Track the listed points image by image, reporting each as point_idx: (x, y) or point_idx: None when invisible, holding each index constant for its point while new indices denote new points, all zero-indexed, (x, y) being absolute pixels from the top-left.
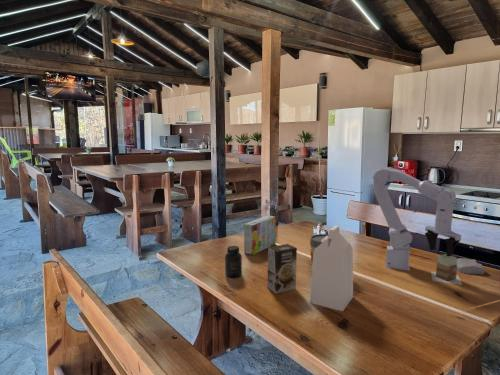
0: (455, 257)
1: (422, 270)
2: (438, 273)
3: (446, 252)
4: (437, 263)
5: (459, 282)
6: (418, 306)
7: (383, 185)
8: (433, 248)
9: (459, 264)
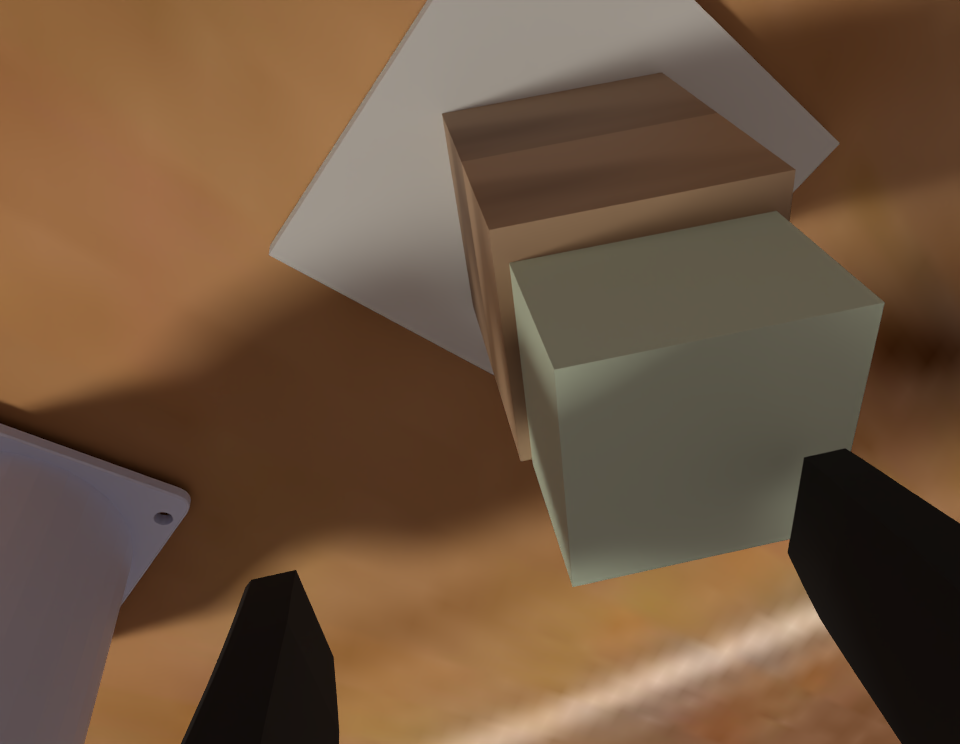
0: (868, 315)
1: (156, 307)
2: None
3: (838, 642)
4: (529, 446)
5: (765, 114)
6: (849, 693)
7: None
8: (314, 648)
9: None
